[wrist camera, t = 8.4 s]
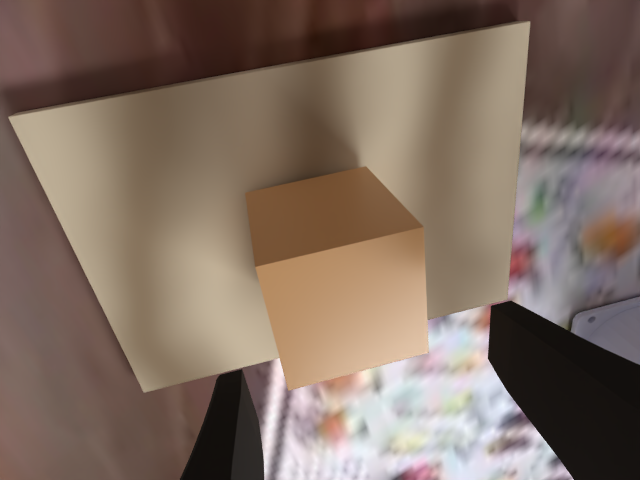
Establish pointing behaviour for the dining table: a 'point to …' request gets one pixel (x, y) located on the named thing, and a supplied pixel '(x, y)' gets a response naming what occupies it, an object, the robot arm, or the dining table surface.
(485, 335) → the dining table surface
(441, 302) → the flat beige rectangular board
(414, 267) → the tan cardboard cube
